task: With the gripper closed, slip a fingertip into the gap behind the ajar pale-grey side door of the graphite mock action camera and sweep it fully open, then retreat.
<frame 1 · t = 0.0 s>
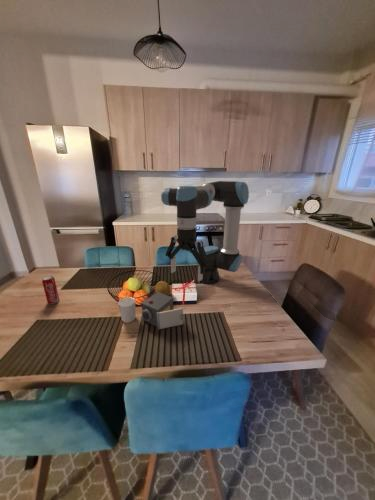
hand: (186, 275, 89), 28 cm above the table, fingers open, 13 cm apart
white cup: (128, 318, 105), on the table
side door: (170, 318, 97), point 5 cm above the table, hinge at 40.0°
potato: (163, 296, 124), on the table
camera body: (158, 316, 106), on the table
beverage can: (53, 301, 118), on the table
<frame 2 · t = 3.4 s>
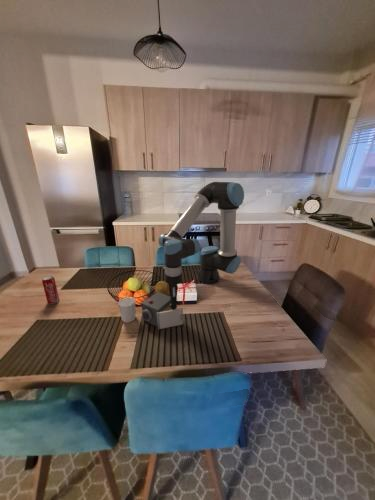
hand: (173, 316, 102), 3 cm above the table, fingers closed
side door: (170, 318, 97), point 5 cm above the table, hinge at 40.2°, touching gripper
everything else where it was.
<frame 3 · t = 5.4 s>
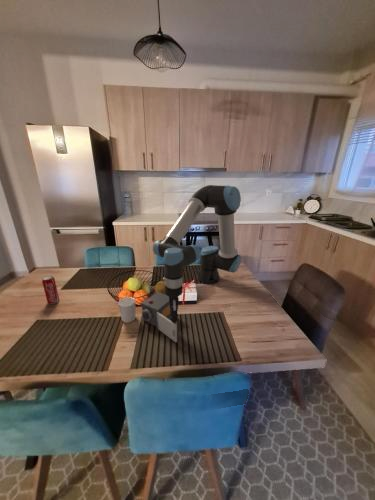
hand: (173, 329, 95), 2 cm above the table, fingers closed
side door: (166, 327, 92), point 5 cm above the table, hinge at 100.2°, touching gripper, hand
everything else where it was.
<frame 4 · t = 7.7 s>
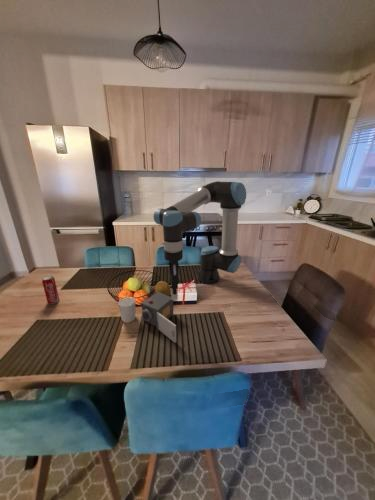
hand: (174, 298, 93), 16 cm above the table, fingers closed
side door: (165, 327, 92), point 5 cm above the table, hinge at 102.4°
everything else where it was.
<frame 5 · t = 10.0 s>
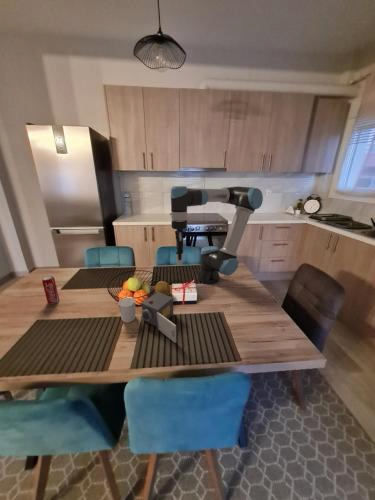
hand: (179, 264, 108), 24 cm above the table, fingers closed
nothing on the table moved.
at the end: side door at +102° (first picture: +40°) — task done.
